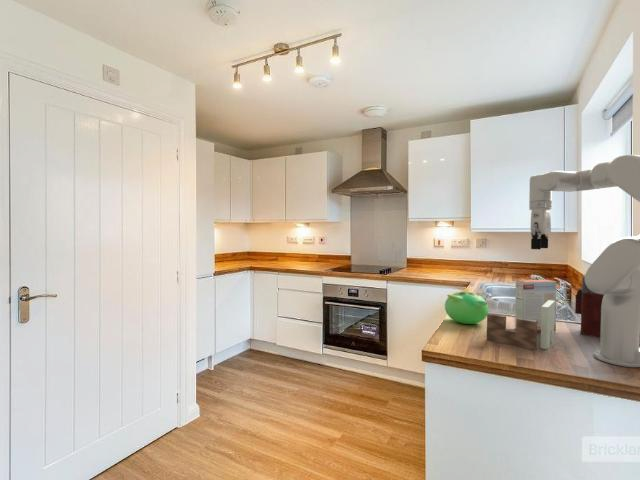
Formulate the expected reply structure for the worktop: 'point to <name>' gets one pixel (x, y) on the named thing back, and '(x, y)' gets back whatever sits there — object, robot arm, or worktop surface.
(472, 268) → the worktop surface
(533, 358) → the worktop surface
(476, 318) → the toy bird
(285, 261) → the worktop surface
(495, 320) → the walnut board
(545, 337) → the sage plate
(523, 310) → the cracker box
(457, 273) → the worktop surface
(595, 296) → the dark red canister
